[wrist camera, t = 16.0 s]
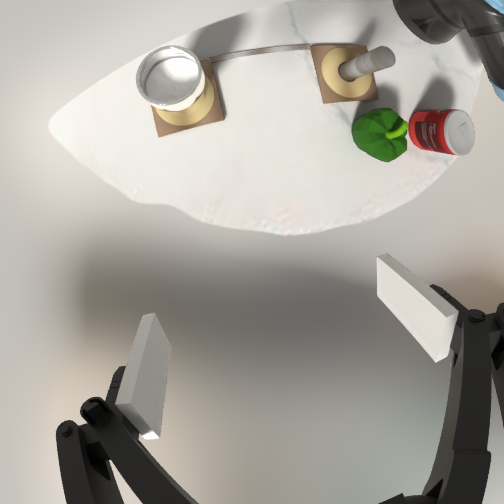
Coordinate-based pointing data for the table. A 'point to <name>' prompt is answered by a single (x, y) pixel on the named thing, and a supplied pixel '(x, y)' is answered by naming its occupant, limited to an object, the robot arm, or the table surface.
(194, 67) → the beer glass
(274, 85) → the table surface
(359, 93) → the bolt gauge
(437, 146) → the canned food
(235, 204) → the table surface
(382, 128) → the bell pepper
